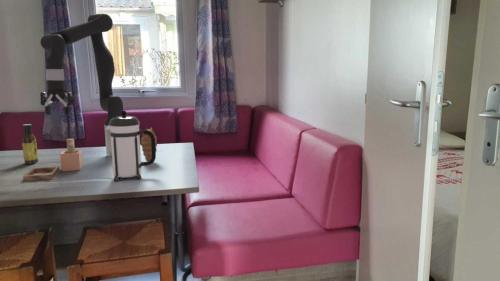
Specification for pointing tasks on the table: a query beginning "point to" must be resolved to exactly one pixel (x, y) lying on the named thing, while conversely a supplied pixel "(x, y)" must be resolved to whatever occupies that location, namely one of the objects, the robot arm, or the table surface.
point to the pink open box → (71, 160)
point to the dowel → (70, 146)
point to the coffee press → (128, 146)
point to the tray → (41, 173)
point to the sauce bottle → (29, 145)
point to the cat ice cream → (147, 145)
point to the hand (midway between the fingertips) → (57, 114)
